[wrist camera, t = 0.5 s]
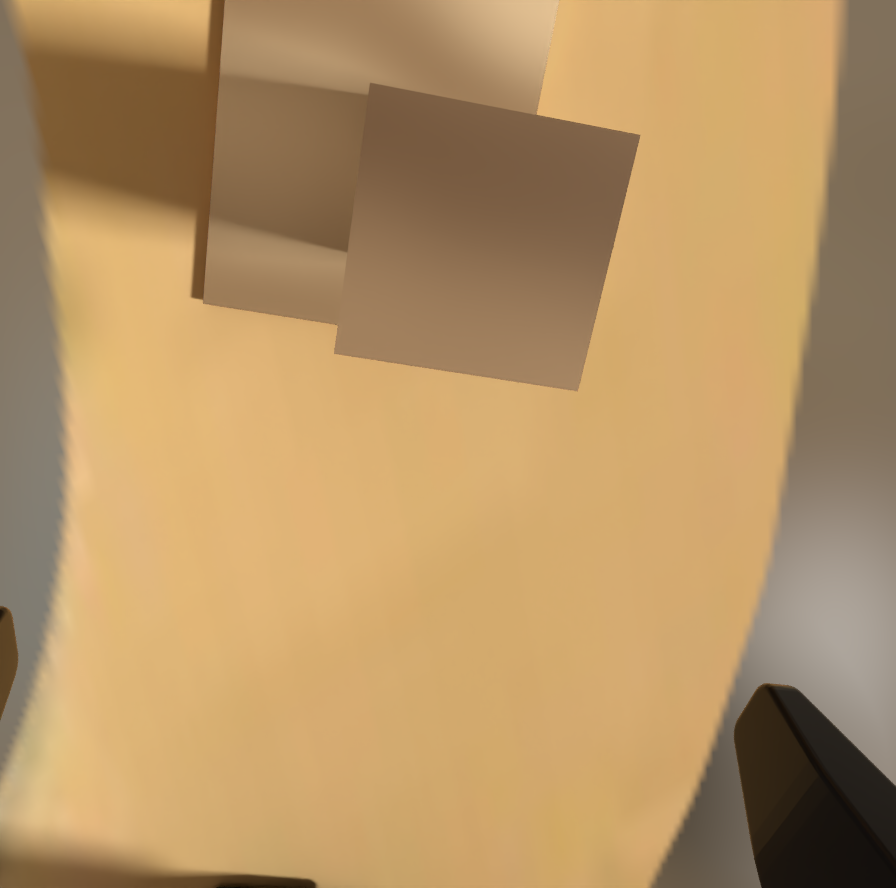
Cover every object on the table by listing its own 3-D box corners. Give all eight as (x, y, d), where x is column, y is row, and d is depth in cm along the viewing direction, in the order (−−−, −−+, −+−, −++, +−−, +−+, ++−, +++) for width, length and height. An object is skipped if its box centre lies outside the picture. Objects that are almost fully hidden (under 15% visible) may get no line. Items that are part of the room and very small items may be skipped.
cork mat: (487, 345, 24) (489, 349, 24) (206, 300, 23) (202, 303, 23) (604, -242, 19) (609, -249, 19) (252, -330, 18) (249, -339, 18)
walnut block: (503, 279, 23) (577, 391, 14) (359, 255, 22) (334, 353, 13) (533, 126, 21) (640, 135, 12) (380, 97, 21) (370, 82, 12)
